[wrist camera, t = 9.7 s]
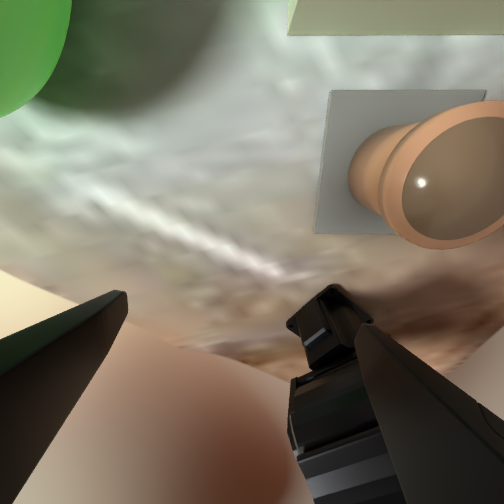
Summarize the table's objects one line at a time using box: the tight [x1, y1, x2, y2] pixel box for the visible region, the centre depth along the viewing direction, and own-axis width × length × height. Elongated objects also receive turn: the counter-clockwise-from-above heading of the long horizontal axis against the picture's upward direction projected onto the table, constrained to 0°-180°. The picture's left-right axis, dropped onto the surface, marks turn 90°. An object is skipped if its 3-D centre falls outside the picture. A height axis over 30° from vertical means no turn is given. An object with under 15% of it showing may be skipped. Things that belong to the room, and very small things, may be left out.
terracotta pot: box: [348, 100, 504, 250], centre depth 14 cm, size 7×7×7 cm
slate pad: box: [313, 90, 486, 234], centre depth 18 cm, size 10×10×1 cm
